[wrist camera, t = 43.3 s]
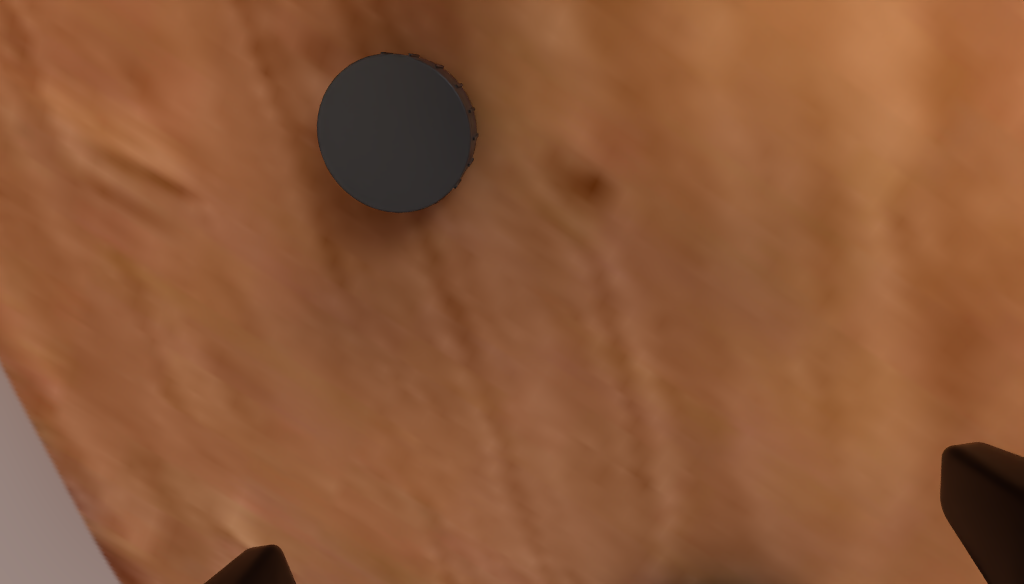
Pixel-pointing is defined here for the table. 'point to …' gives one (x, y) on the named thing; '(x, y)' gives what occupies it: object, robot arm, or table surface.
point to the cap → (396, 131)
